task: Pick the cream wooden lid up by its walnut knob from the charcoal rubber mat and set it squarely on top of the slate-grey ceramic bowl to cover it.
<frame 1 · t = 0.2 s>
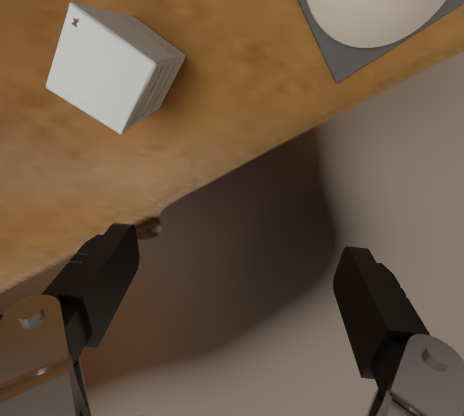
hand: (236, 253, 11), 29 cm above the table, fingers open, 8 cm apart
supplement box: (148, 65, 34), on the table
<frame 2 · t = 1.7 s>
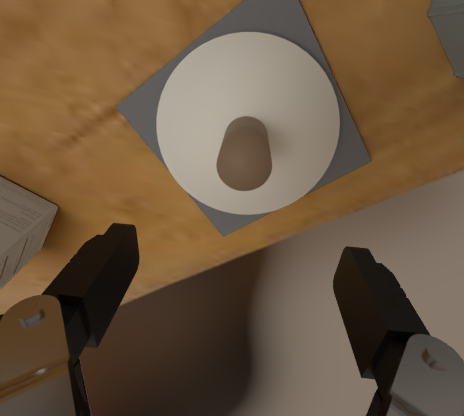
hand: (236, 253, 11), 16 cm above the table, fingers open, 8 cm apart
mat: (246, 132, 25), on the table
lid: (246, 134, 24), resting on mat
supplement box: (21, 211, 31), on the table
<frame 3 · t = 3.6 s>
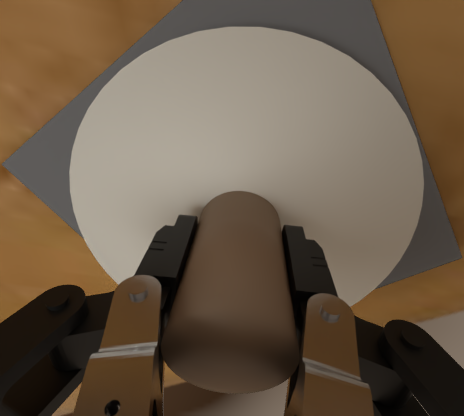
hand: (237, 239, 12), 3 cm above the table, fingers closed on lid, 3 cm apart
mat: (240, 207, 14), on the table
lid: (240, 212, 14), resting on mat, touching gripper
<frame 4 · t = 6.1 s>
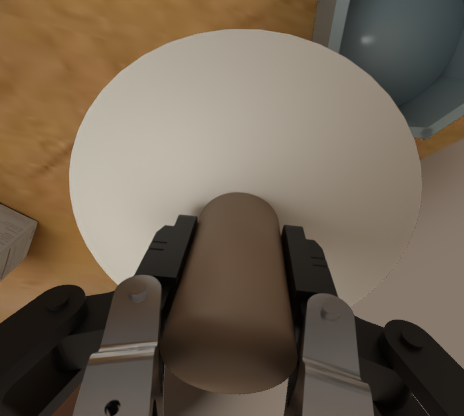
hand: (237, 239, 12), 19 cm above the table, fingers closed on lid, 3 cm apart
bowl: (385, 42, 24), on the table
lid: (239, 213, 14), point 17 cm above the table, touching gripper
supplement box: (7, 226, 37), on the table
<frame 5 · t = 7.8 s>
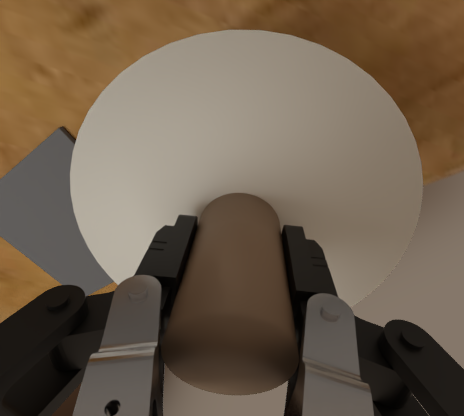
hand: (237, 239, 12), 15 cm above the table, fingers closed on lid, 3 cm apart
mat: (74, 227, 31), on the table
lid: (240, 214, 14), point 13 cm above the table, touching gripper
when the fingers open (10 cm above the table, at t = 9.1 s): lid stays where it is, resting on bowl.
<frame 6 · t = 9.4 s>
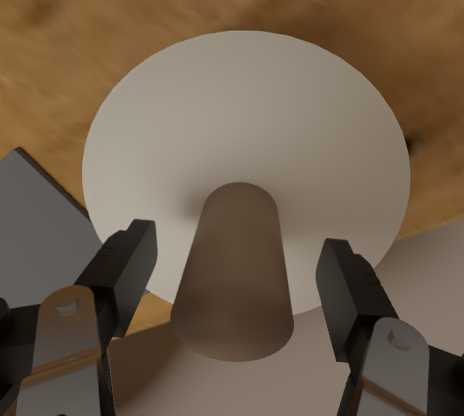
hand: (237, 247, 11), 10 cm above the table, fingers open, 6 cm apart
mat: (42, 261, 26), on the table
lid: (241, 204, 14), point 6 cm above the table, touching bowl
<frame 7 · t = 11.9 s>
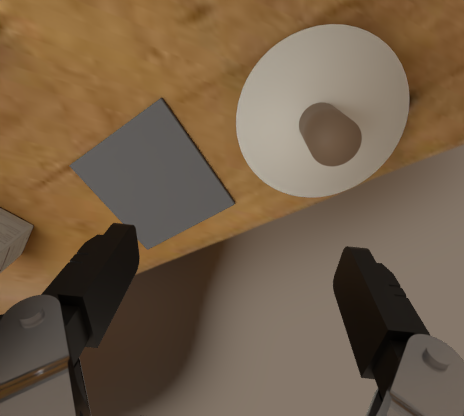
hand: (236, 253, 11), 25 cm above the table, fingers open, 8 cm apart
mat: (154, 183, 38), on the table
lid: (316, 120, 26), point 6 cm above the table, touching bowl
supplement box: (7, 227, 44), on the table
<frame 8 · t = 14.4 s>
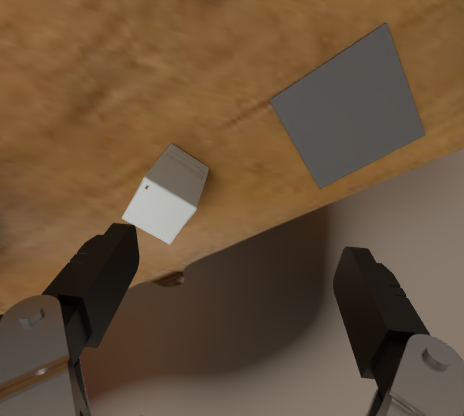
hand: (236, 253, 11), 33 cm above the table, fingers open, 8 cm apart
mat: (347, 117, 40), on the table
supplement box: (180, 172, 46), on the table
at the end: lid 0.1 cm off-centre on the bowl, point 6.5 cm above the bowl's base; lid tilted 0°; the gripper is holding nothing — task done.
